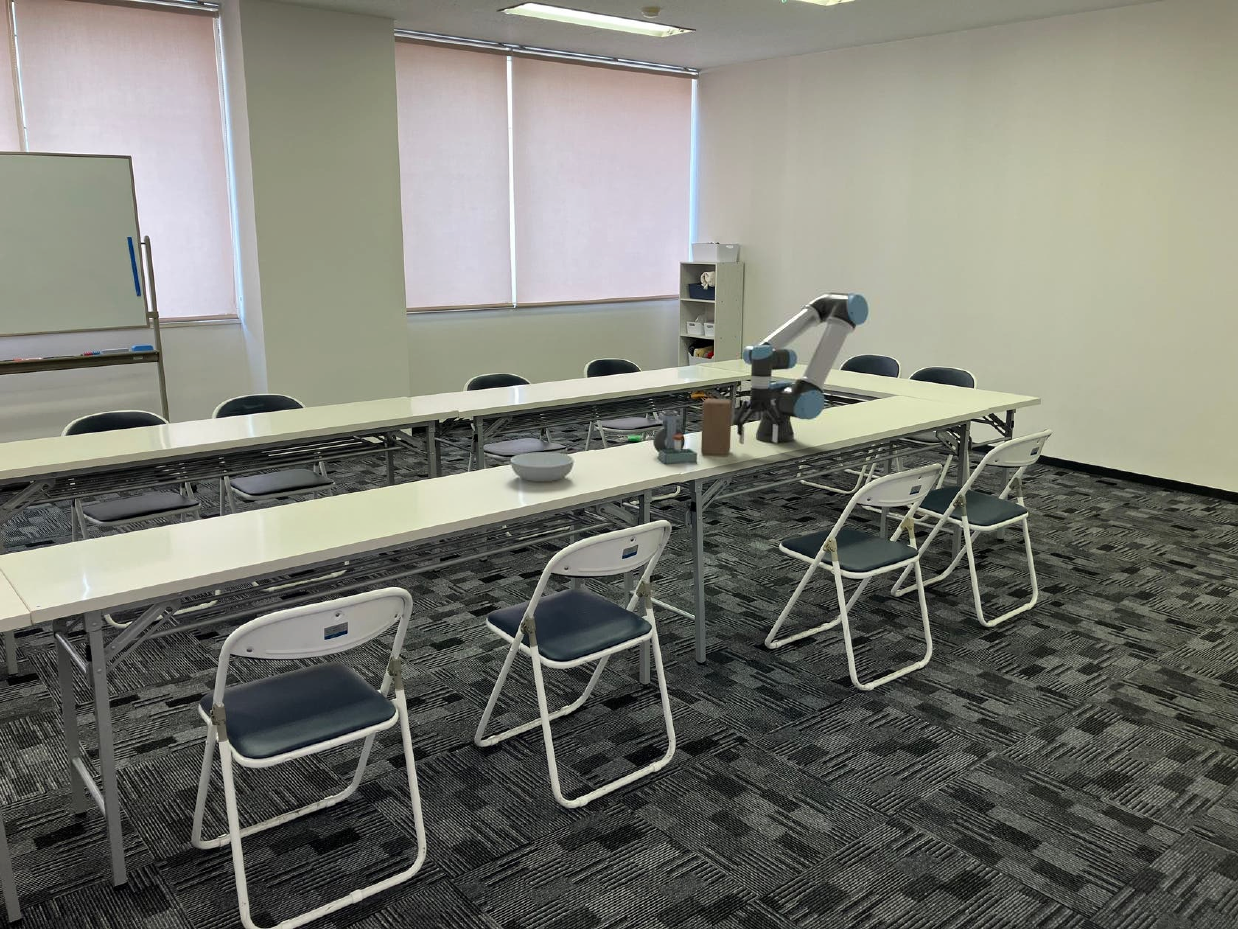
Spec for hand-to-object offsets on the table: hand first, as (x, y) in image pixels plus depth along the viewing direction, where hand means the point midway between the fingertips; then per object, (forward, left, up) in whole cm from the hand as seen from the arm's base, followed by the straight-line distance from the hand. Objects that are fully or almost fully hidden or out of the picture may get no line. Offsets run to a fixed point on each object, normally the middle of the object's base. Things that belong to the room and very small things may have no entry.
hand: (758, 442), depth 351 cm
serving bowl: (+87, +23, -4) cm, 90 cm away
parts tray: (+35, +9, -3) cm, 36 cm away
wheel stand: (+35, 0, -3) cm, 36 cm away
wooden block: (+17, 0, -4) cm, 17 cm away
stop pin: (+35, +9, -3) cm, 36 cm away
